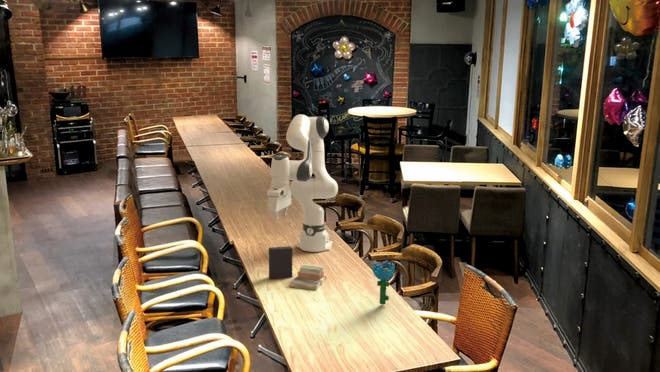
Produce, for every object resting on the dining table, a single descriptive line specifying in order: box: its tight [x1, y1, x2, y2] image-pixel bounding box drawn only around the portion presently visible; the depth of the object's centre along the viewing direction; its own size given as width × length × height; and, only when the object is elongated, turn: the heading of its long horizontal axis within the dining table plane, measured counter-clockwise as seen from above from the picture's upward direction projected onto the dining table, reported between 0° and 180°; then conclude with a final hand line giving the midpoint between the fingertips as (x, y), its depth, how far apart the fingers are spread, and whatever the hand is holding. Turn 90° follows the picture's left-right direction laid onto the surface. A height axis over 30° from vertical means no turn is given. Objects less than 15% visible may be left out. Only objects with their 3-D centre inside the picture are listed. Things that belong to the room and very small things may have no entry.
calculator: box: [268, 245, 294, 280], centre depth 286 cm, size 11×4×15 cm, turn 105°
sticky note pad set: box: [289, 263, 328, 291], centre depth 279 cm, size 15×13×7 cm
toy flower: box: [372, 260, 396, 306], centre depth 255 cm, size 9×9×18 cm
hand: (280, 218), depth 282 cm, fingers open, 8 cm apart
